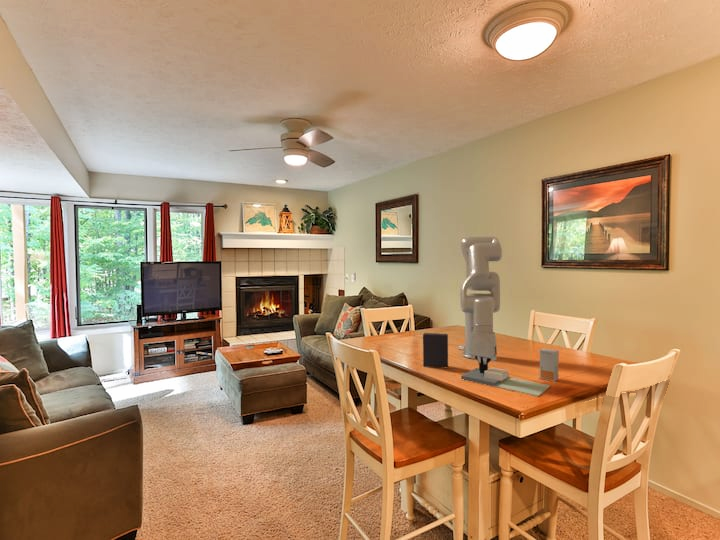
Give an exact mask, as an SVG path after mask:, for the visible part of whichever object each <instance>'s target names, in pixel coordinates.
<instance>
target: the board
mask: <svg viewBox="0 0 720 540" xmlns="http://www.w3.org/2000/svg"><path fill="white" fill-rule="evenodd" d="M509 375H510V374H509V373H508V377H510V376H509ZM460 376H461V377H460V379H464V380H463V381H466V380H468V381H467V382H470V381H473V382H472V383H475V382H477V383H476V384H479V383H481V384H480V385H484V384H486V385H485V386H488V385H490V386H489V387H493V386H495V385H497V384H498V383H500V382H502V381H499V380H494V379H489V378H484V374H483V373H480V370H479V367H476V368H473V369H471V370H469V371H468V372H466V373H463V374H462V375H460ZM508 377H507V378H508ZM505 379H506V378H505ZM505 379H504V380H505Z"/></svg>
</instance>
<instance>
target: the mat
mask: <svg viewBox="0 0 720 540" xmlns="http://www.w3.org/2000/svg"><path fill="white" fill-rule="evenodd" d="M497 387H499V388H498V389H502V388H503V389H502V390H506V389H509V390H508V391H511V390H513V391H512V392H516V391H518V392H517V393H520V392H522V393H521V394H525V393H526V394H525V395H529V394H530V396H534V395H535V397H540V396H541V395H542V394H543V393H544V392H546V391H547V390H548V389H549V388H550V387H551V385H549V384H545V383H540V382H536V381H530V380H525V379H519V378H514V377H510V376H509V377H508V378H506V379H505V380H503V381H502V382H500V383H498V384H497V385H495V387H494V388H497Z"/></svg>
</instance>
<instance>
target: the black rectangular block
mask: <svg viewBox="0 0 720 540" xmlns="http://www.w3.org/2000/svg"><path fill="white" fill-rule="evenodd" d="M422 350H423V351H422V352H423V353H422V355H423V356H422V357H423V358H422V361H423V362H422V366H423V367H425V366H433V367H432V368H441V367H447V368H448V367H449V334H448V333H439V332H438V333H437V332H436V333H433V332H424V333H423V335H422Z"/></svg>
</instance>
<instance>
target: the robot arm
mask: <svg viewBox="0 0 720 540" xmlns="http://www.w3.org/2000/svg"><path fill="white" fill-rule="evenodd" d="M460 242H461V243H460V249H461V254H462V257H463V258H464V260H465V274H466V275H465V279H464V281H463V283H462V284H461V287H460V291H459V296H460V298H459V299H460V301H459V302H460V310H461V311H462V312H463V313H464V321H465V323H464V326H465V327H464V330H465V331H464V333H465V335H464V337H465V338H464V339H465V345H459V346H458V351H462V353H461V355H462V357H464V358H467V359H472V360H476V361H477V363H478V368H479V370H480V373H483V374H484V371H486V370H488V369H489V366H488V365H489V363H490V362H495V361H497V359H498V358H497V354H498V349H497V348H498V345H497V339H496V333H495V332H494V314H495V313H498V312H499V311H500V308H501V281H500V280H501V279H500V276H499V274H498V273H497V272H496V271H490V265H489V263H490V262H500V261H501V260H502V259H503V258H502V257H503V250H502V249H503V247H502V244H501V242H500V241H499V238H498V237H496V236H470V237H465V238H463V239H461V241H460ZM468 290H470V291H475V292H477V291H479V292H481V293H479V292H478V293H475V292H473V293H472V292H471V293H468V294H467V292H468ZM482 292H489V293H482Z"/></svg>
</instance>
